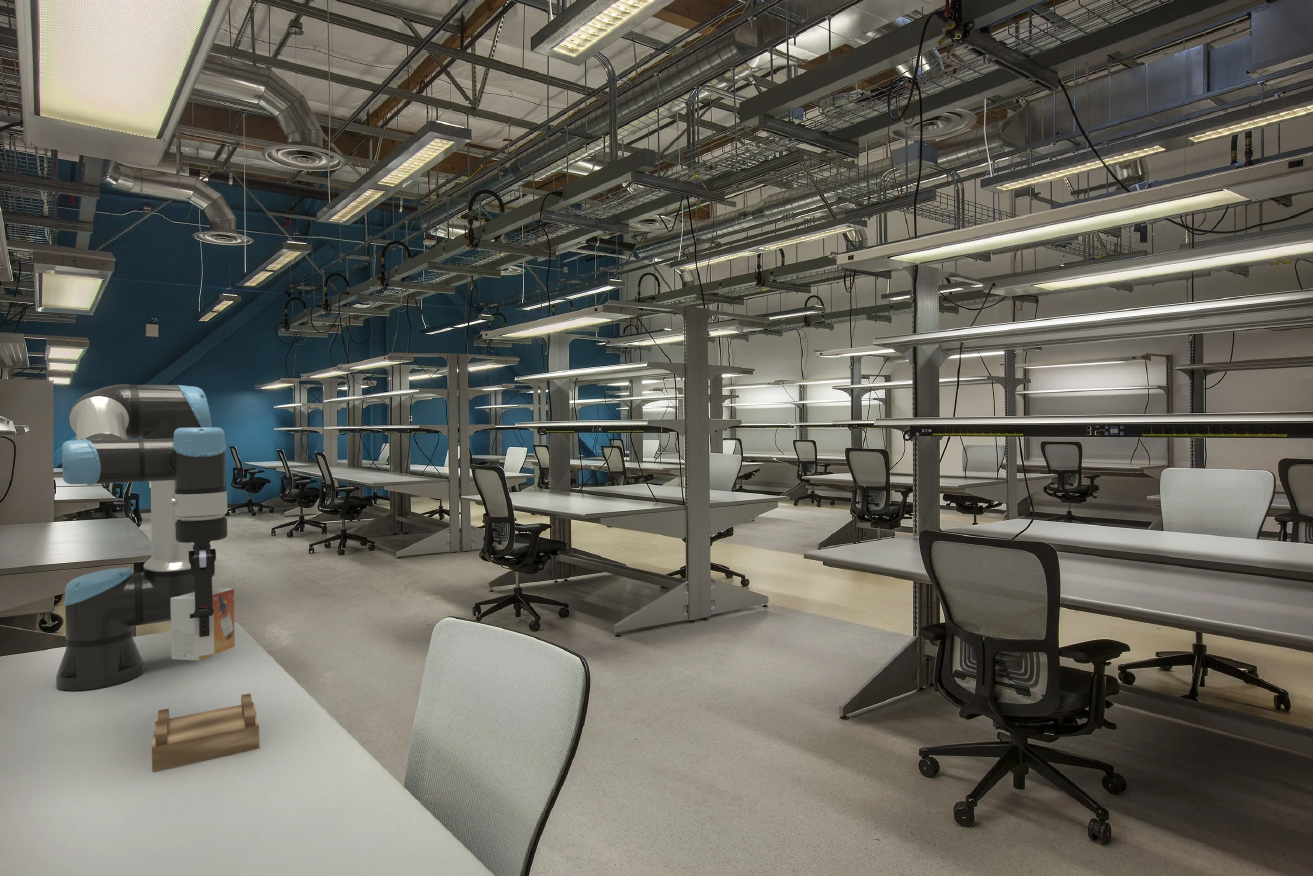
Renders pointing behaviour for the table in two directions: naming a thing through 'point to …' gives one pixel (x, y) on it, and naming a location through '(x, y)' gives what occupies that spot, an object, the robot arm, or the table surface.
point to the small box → (185, 626)
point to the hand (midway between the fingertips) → (204, 646)
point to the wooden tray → (204, 735)
